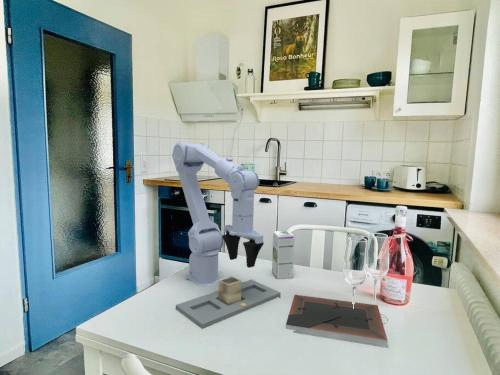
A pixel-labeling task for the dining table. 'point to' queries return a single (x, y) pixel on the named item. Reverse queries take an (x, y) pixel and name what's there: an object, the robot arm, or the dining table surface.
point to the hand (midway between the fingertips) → (241, 262)
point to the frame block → (229, 290)
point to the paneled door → (214, 311)
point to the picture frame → (337, 320)
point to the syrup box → (283, 254)
